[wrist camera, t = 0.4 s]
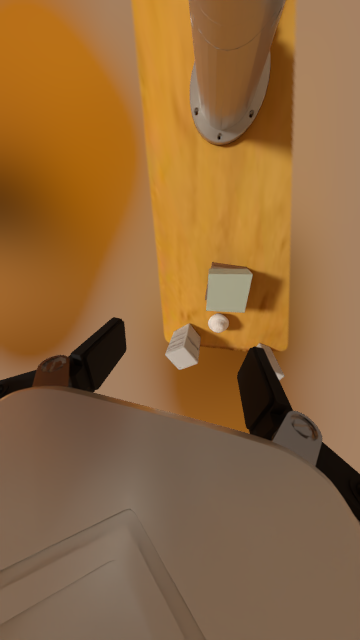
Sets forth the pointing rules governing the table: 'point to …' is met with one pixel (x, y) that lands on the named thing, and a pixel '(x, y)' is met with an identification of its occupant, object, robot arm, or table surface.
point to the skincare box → (272, 360)
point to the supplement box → (184, 347)
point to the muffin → (218, 323)
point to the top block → (228, 289)
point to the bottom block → (223, 266)
